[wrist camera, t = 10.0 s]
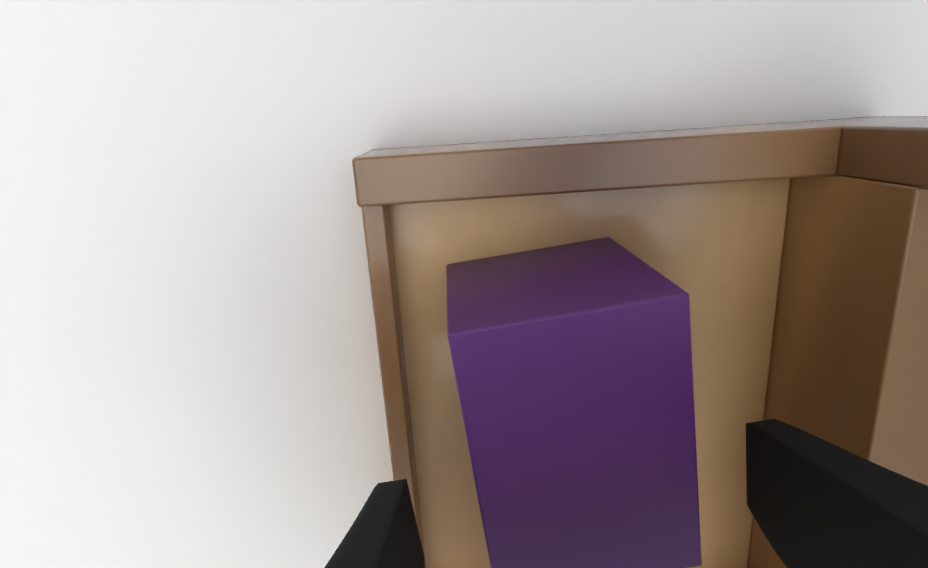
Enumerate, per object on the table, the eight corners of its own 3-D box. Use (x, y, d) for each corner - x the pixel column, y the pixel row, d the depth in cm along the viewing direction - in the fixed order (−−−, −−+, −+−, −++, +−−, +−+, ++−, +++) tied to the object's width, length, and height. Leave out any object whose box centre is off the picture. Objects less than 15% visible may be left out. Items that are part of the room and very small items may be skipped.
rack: (877, 116, 14) (1223, 115, 8) (810, 557, 18) (1002, 787, 12) (370, 149, 14) (310, 176, 8) (418, 588, 18) (404, 838, 12)
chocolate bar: (610, 236, 13) (692, 293, 9) (637, 538, 16) (710, 697, 11) (444, 263, 13) (445, 334, 9) (498, 560, 16) (519, 727, 11)
